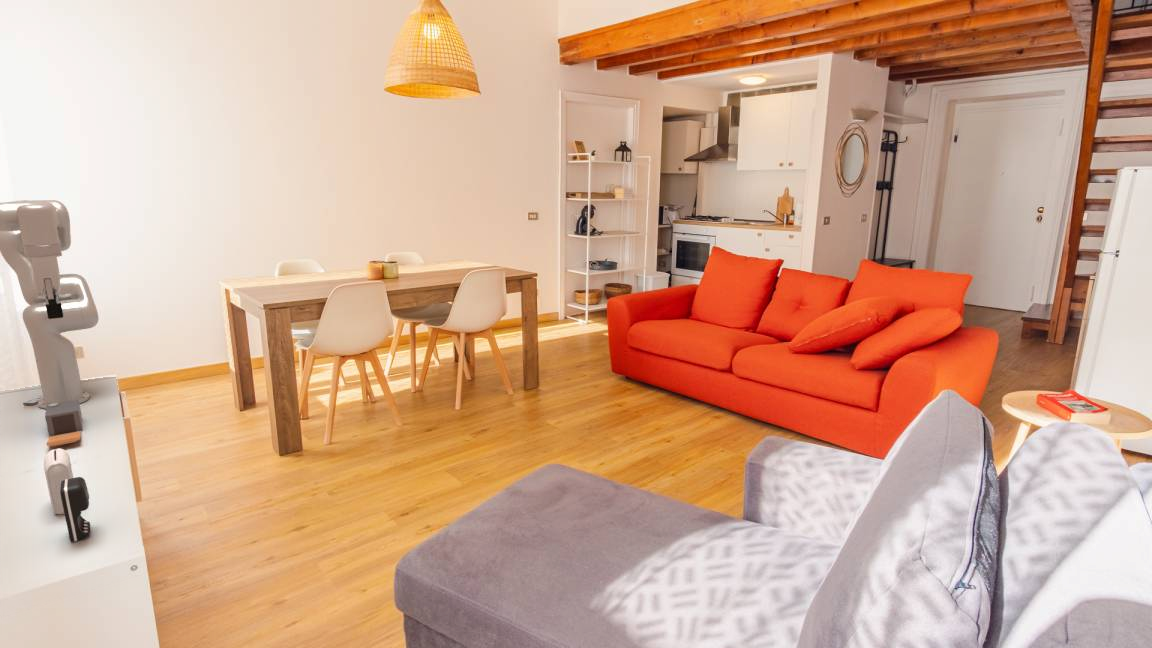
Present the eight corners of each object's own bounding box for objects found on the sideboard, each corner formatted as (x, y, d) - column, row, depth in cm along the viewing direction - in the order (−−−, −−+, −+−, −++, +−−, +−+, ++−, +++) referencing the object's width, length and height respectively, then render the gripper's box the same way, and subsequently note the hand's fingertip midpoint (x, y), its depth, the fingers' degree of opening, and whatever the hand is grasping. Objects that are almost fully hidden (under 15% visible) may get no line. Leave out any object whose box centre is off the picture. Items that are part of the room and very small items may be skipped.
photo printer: (52, 497, 138) (42, 446, 135) (77, 491, 141) (67, 441, 138) (52, 517, 130) (41, 464, 127) (78, 511, 133) (68, 458, 130)
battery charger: (94, 537, 124) (84, 486, 121) (70, 544, 121) (59, 491, 119) (94, 522, 129) (85, 472, 126) (71, 528, 127) (61, 477, 124)
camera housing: (50, 428, 174) (45, 403, 172) (83, 422, 178) (78, 398, 176) (49, 440, 166) (43, 414, 164) (83, 434, 170) (78, 408, 169)
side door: (50, 436, 166) (46, 442, 156) (81, 430, 170) (79, 436, 160) (50, 440, 166) (47, 447, 157) (82, 434, 170) (80, 441, 161)
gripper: (26, 248, 169) (39, 314, 174) (22, 255, 158) (36, 325, 162) (61, 247, 174) (73, 310, 178) (60, 253, 162) (73, 321, 167)
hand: (55, 317), depth 170 cm, fingers closed
